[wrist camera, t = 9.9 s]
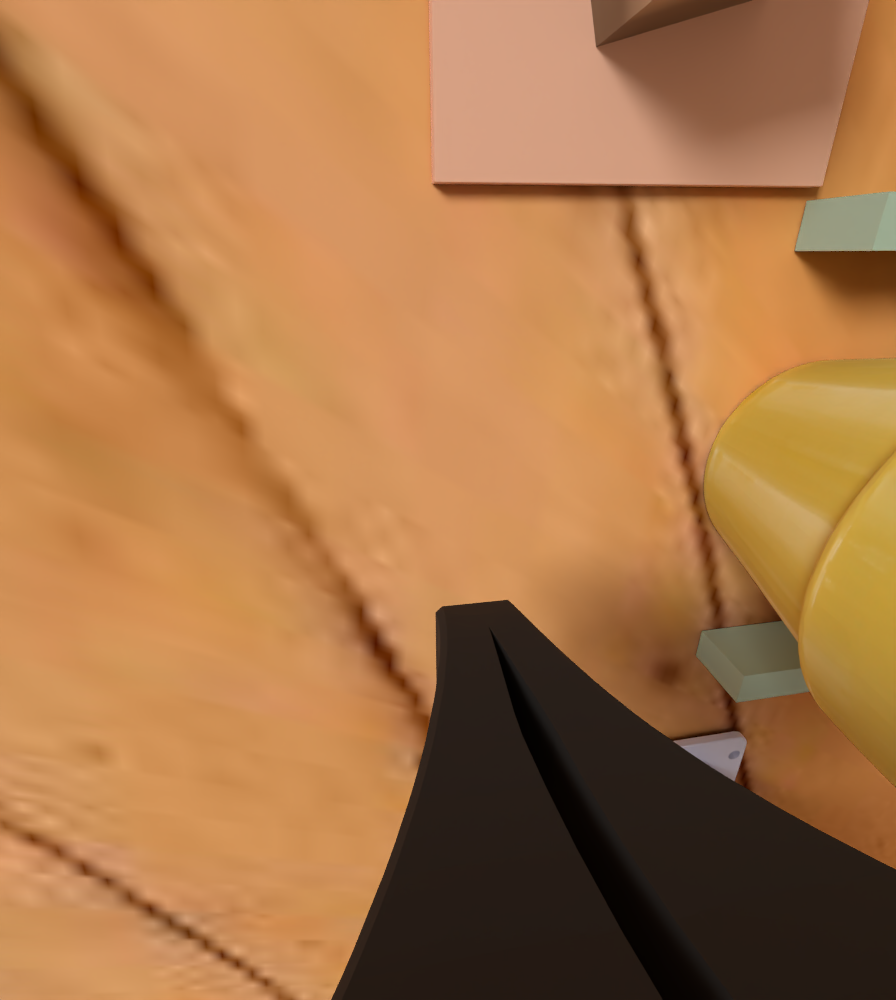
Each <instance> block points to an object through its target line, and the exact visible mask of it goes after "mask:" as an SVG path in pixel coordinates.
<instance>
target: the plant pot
mask: <svg viewBox="0 0 896 1000" xmlns="http://www.w3.org/2000/svg"><path fill="white" fill-rule="evenodd" d="M704 498H705V504H706V508H707V512H708V515H709V517H710V519H711V522H712V524H713V525H714V527H715V528H716V530H717V531H718V533H719V534H720V536H721V537H722V538H723V540H724V541H725V543H726V544H727V545H728V546H729V548H730V549H731V550H732V552H733V553H734V554H735V555H736V557H737V558H738V560H739V561H740V562H741V564H742V565H743V566H744V568H745V569H746V571H747V572H748V573H749V575H750V576H751V578H752V579H753V580H754V582H755V583H756V584H757V586H758V587H759V589H760V590H761V591H762V593H763V594H764V596H765V597H766V598H767V600H768V601H769V603H770V604H771V605H772V607H773V608H774V610H775V611H776V612H777V614H778V615H779V617H780V618H781V619H782V621H783V622H784V624H785V625H786V626H787V628H788V629H789V631H790V632H791V633H792V635H793V636H794V638H795V639H796V640H797V642H798V653H799V660H800V667H801V670H802V674H803V677H804V680H805V682H806V685H807V687H808V689H809V691H810V693H811V695H812V696H813V698H814V700H815V701H816V703H817V705H818V706H819V707H820V708H821V709H822V711H823V712H824V713H825V714H826V715H827V716H828V717H829V719H830V720H831V721H832V722H833V723H834V724H835V725H836V726H837V727H838V728H839V730H840V731H841V732H842V733H843V734H844V735H845V736H846V737H847V738H848V739H849V740H850V741H851V742H852V743H853V745H854V746H855V747H856V748H857V749H858V750H859V751H860V752H861V753H862V754H863V755H864V756H865V757H866V758H867V759H868V760H869V761H870V762H871V763H872V764H873V765H874V766H875V767H876V768H877V769H878V770H879V771H880V772H881V773H882V774H883V775H884V776H885V777H886V778H887V779H888V780H889V781H890V782H891V783H892V784H893V785H894V786H895V787H896V358H883V359H843V360H823V361H816V362H811V363H807V364H804V365H800V366H797V367H794V368H791V369H789V370H787V371H785V372H783V373H781V374H779V375H777V376H775V377H773V378H772V379H770V380H769V381H767V382H766V383H764V384H763V385H762V386H760V387H759V388H757V389H756V390H755V391H754V392H752V393H751V394H750V395H749V396H748V397H747V398H746V399H745V400H744V401H743V402H742V403H741V404H740V405H739V406H738V407H737V408H736V409H735V410H734V412H733V413H732V414H731V415H730V416H729V418H728V419H727V420H726V422H725V423H724V425H723V426H722V428H721V429H720V431H719V433H718V435H717V437H716V439H715V441H714V443H713V445H712V448H711V451H710V454H709V457H708V459H707V464H706V469H705V473H704Z"/></svg>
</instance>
